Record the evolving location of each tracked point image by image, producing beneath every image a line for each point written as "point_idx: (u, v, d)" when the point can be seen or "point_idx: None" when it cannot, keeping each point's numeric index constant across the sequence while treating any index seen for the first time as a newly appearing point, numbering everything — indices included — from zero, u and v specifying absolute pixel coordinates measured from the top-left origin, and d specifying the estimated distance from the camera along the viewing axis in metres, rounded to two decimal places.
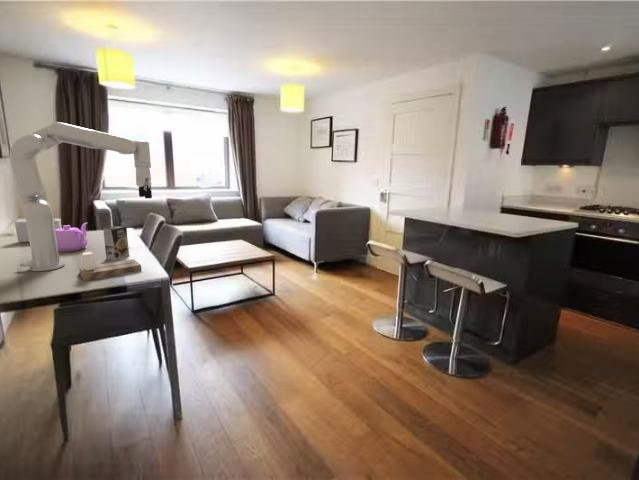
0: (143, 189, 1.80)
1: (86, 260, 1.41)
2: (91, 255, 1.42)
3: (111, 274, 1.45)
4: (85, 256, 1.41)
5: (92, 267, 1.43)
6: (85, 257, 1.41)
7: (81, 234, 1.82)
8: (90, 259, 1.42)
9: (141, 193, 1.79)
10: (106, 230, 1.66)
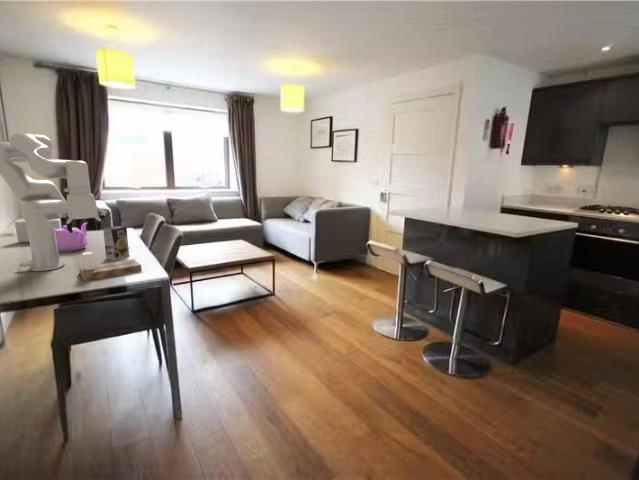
0: (70, 223, 1.37)
1: (86, 260, 1.41)
2: (91, 255, 1.42)
3: (111, 274, 1.45)
4: (85, 256, 1.41)
5: (92, 267, 1.43)
6: (85, 257, 1.41)
7: (81, 234, 1.82)
8: (90, 259, 1.42)
9: (71, 228, 1.37)
10: (106, 230, 1.66)
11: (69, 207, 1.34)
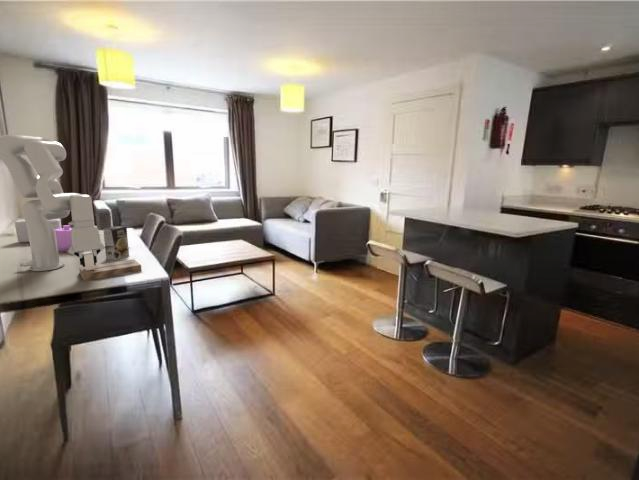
0: (82, 256, 1.43)
1: (86, 260, 1.41)
2: (91, 255, 1.42)
3: (111, 274, 1.45)
4: (85, 256, 1.41)
5: (92, 267, 1.43)
6: (85, 257, 1.41)
7: None
8: (90, 259, 1.42)
9: None
10: (106, 230, 1.66)
11: (73, 240, 1.37)
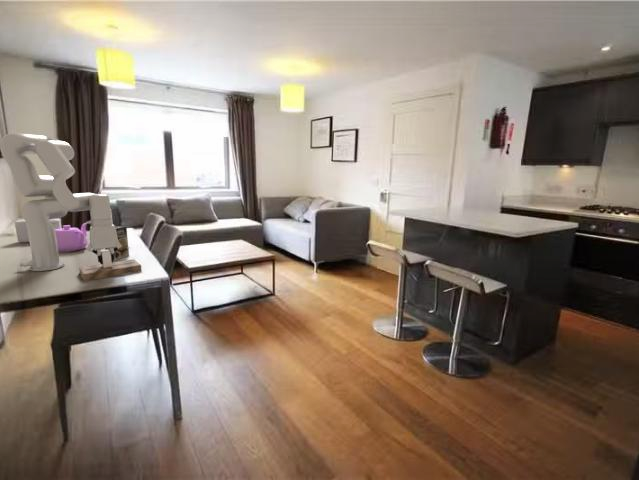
0: None
1: (104, 258, 1.46)
2: (109, 253, 1.46)
3: (111, 274, 1.45)
4: (103, 254, 1.45)
5: (109, 264, 1.48)
6: (103, 255, 1.45)
7: (81, 234, 1.82)
8: (108, 257, 1.46)
9: None
10: None
11: (92, 238, 1.41)
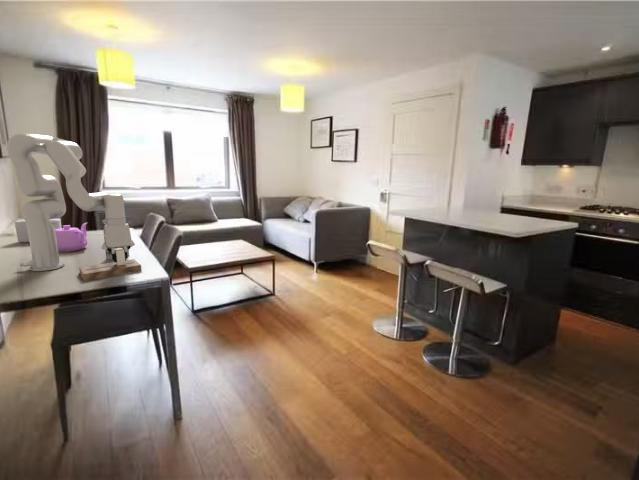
0: None
1: (118, 256, 1.49)
2: (122, 251, 1.50)
3: (111, 274, 1.45)
4: (117, 252, 1.49)
5: (123, 262, 1.51)
6: (117, 253, 1.49)
7: (81, 234, 1.82)
8: (121, 255, 1.50)
9: None
10: None
11: (107, 237, 1.45)
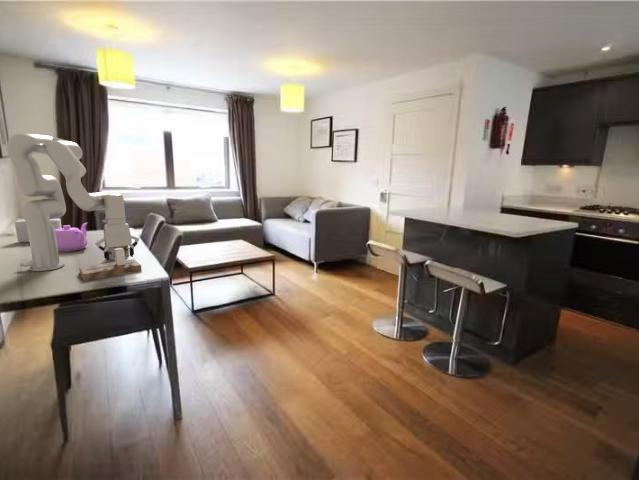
0: None
1: (118, 256, 1.49)
2: (122, 251, 1.50)
3: (111, 274, 1.45)
4: (117, 252, 1.49)
5: (123, 262, 1.51)
6: (117, 253, 1.49)
7: (81, 234, 1.82)
8: (121, 255, 1.50)
9: None
10: None
11: (107, 237, 1.45)
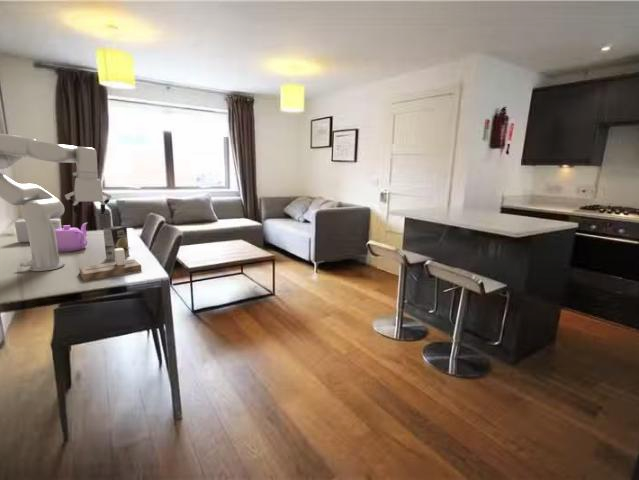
0: (76, 205, 1.47)
1: (118, 256, 1.49)
2: (122, 251, 1.50)
3: (111, 274, 1.45)
4: (117, 252, 1.49)
5: (123, 262, 1.51)
6: (117, 253, 1.49)
7: (81, 234, 1.82)
8: (121, 255, 1.50)
9: (77, 210, 1.47)
10: (106, 230, 1.66)
11: (77, 190, 1.43)
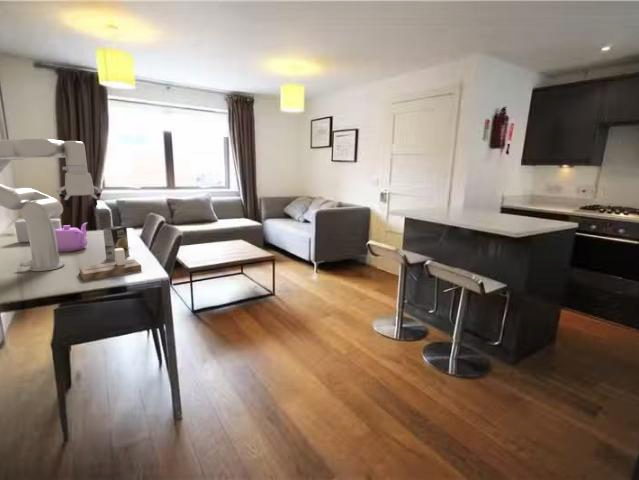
0: None
1: (118, 256, 1.49)
2: (122, 251, 1.50)
3: (111, 274, 1.45)
4: (117, 252, 1.49)
5: (123, 262, 1.51)
6: (117, 253, 1.49)
7: (81, 234, 1.82)
8: (121, 255, 1.50)
9: (69, 204, 1.47)
10: (106, 230, 1.66)
11: (67, 184, 1.44)
